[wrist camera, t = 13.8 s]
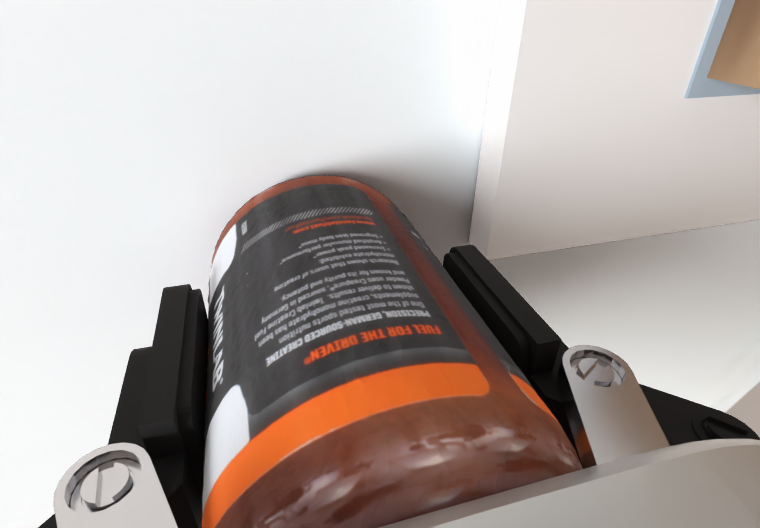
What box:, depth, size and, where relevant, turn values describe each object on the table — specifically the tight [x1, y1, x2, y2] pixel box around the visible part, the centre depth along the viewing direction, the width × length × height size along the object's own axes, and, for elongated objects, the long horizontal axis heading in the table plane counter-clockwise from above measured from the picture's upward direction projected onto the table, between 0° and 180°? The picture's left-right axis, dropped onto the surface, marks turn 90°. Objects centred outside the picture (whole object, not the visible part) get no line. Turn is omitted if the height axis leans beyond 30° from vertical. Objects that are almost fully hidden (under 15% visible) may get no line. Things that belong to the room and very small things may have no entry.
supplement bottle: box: [202, 175, 583, 528], centre depth 9 cm, size 6×6×11 cm
